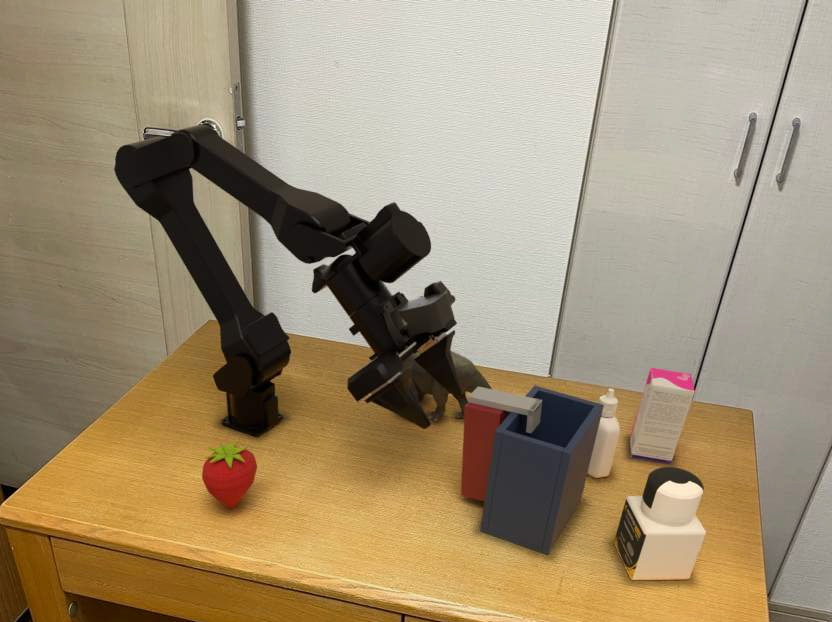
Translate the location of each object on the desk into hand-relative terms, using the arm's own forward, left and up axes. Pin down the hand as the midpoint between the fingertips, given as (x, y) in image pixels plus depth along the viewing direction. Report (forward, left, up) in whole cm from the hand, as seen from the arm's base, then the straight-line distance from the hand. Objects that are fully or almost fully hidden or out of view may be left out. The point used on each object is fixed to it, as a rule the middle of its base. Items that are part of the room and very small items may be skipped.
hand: (444, 410), depth 98 cm
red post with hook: (+8, 0, -9) cm, 13 cm away
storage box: (+13, 0, -11) cm, 17 cm away
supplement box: (+22, +24, -11) cm, 35 cm away
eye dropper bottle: (+16, +15, -11) cm, 25 cm away
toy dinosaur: (-9, +17, -11) cm, 22 cm away
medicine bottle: (+28, -1, -11) cm, 31 cm away
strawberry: (-20, -18, -11) cm, 29 cm away
